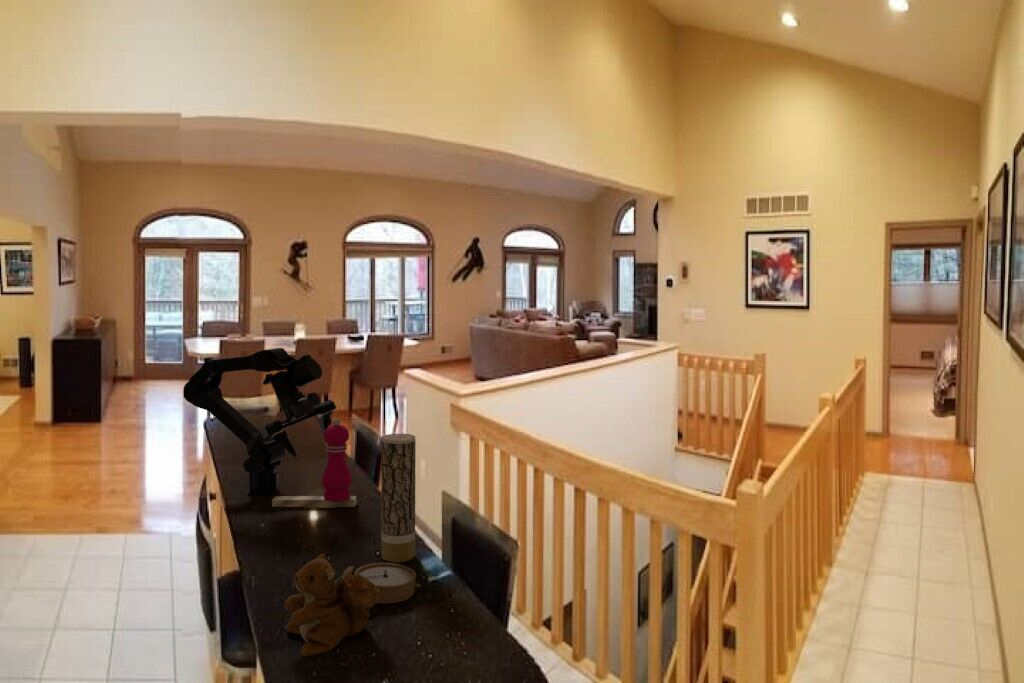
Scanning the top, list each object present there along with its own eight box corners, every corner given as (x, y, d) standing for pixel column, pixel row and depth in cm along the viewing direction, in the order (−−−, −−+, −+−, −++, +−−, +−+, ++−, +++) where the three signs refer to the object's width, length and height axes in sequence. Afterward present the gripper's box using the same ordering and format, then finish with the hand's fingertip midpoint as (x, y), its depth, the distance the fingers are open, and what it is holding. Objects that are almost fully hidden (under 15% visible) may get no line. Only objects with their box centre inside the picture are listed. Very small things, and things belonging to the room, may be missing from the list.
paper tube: (387, 566, 141) (387, 442, 139) (377, 554, 147) (377, 435, 145) (419, 560, 144) (420, 439, 142) (408, 549, 150) (408, 432, 148)
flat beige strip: (272, 507, 175) (272, 500, 175) (275, 504, 178) (275, 496, 178) (354, 507, 176) (354, 499, 176) (356, 503, 179) (356, 496, 179)
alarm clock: (427, 582, 128) (346, 584, 121) (422, 609, 128) (341, 612, 121) (404, 560, 138) (328, 560, 130) (400, 585, 138) (323, 587, 130)
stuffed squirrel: (282, 630, 115) (281, 552, 114) (368, 615, 121) (368, 539, 120) (290, 661, 106) (289, 576, 105) (383, 642, 112) (383, 561, 111)
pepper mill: (318, 502, 174) (317, 421, 172) (327, 493, 181) (326, 415, 179) (347, 503, 173) (346, 422, 172) (355, 494, 181) (354, 416, 179)
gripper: (260, 400, 171) (286, 459, 171) (330, 374, 182) (355, 430, 181) (250, 409, 180) (274, 466, 180) (317, 384, 191) (341, 437, 190)
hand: (312, 449), depth 183 cm, fingers open, 9 cm apart
